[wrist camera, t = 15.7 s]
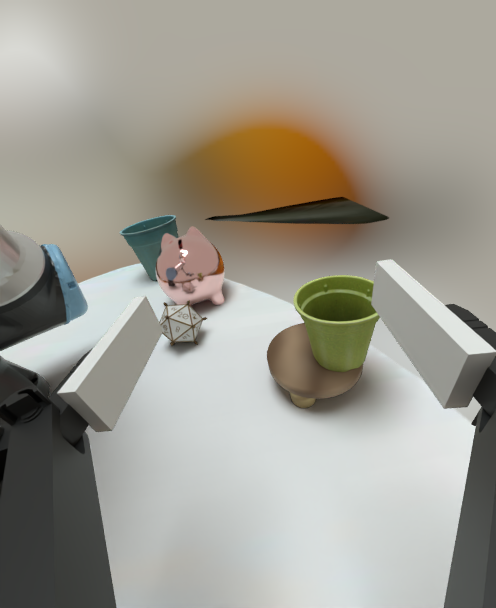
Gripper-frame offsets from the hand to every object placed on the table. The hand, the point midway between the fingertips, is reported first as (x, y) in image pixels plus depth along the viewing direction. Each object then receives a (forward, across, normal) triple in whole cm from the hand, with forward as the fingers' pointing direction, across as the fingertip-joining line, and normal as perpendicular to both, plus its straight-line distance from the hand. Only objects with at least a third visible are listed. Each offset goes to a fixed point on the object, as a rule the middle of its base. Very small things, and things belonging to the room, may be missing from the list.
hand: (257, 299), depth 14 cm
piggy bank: (+38, -18, -22) cm, 47 cm away
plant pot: (+10, +8, -16) cm, 20 cm away
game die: (+22, -17, -21) cm, 35 cm away
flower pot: (+58, -34, -22) cm, 70 cm away
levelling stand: (+11, +5, -21) cm, 24 cm away
